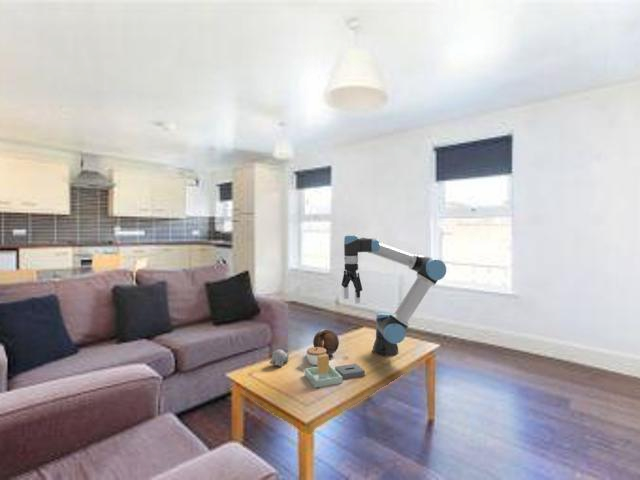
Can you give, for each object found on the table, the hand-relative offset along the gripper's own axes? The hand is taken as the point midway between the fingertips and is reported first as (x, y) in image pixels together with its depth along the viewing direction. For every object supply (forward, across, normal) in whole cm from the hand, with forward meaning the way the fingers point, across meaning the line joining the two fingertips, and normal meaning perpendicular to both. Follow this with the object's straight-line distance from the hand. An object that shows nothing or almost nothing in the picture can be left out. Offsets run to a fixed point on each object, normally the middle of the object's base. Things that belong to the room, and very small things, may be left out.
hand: (351, 301), depth 202 cm
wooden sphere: (+34, -14, -10) cm, 38 cm away
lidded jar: (+34, -3, -20) cm, 40 cm away
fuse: (+33, +17, -25) cm, 45 cm away
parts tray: (+34, +17, -25) cm, 45 cm away
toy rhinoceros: (+33, -10, -39) cm, 52 cm away
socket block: (+34, +16, -10) cm, 39 cm away
